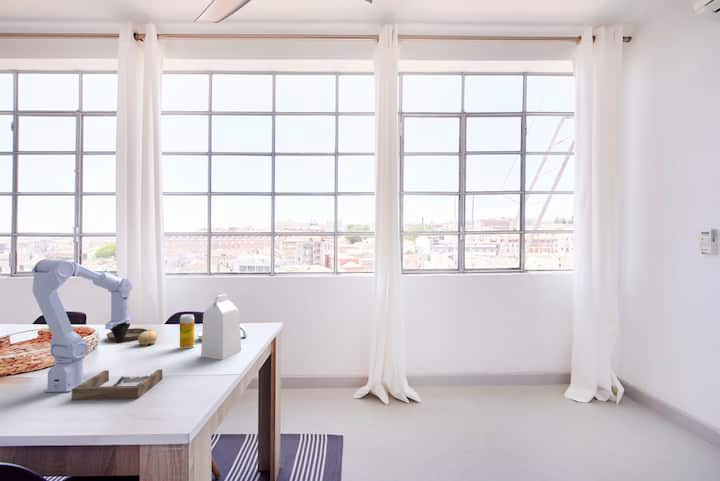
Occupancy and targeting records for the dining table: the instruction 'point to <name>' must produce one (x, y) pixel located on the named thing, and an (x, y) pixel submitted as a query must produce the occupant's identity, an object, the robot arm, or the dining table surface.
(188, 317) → the yellow bottle
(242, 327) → the spoon rest
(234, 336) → the milk
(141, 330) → the plant saucer
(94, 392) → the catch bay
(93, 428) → the dining table surface
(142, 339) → the beige rounded lump
